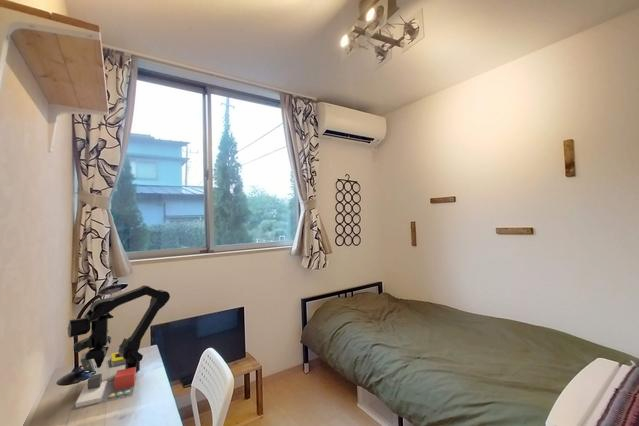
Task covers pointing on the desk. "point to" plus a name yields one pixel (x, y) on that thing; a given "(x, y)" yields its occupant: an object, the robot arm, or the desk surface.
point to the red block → (125, 378)
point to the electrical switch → (88, 364)
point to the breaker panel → (109, 391)
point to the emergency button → (117, 360)
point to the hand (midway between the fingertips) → (98, 367)
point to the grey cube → (94, 381)
